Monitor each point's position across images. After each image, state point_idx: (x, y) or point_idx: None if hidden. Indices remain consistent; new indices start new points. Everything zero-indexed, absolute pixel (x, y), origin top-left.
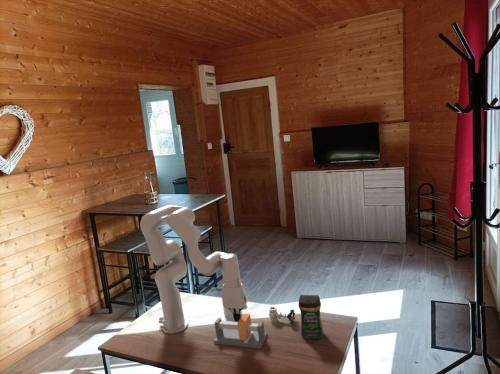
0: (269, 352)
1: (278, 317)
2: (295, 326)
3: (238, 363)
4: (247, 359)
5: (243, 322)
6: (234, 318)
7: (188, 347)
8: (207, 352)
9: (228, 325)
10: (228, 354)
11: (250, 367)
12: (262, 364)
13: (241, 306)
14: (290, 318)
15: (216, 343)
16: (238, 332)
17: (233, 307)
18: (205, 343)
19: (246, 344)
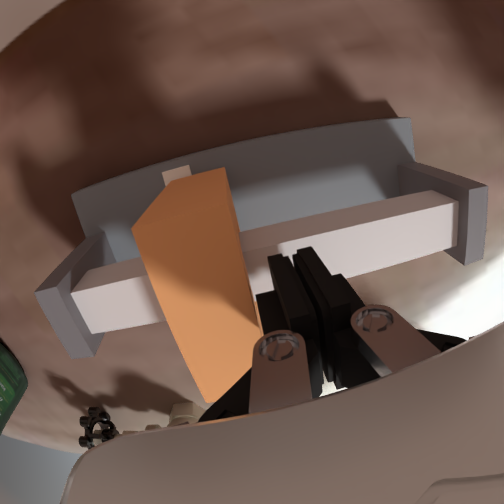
0: (23, 182)
1: (151, 428)
2: (77, 398)
3: (124, 7)
4: (92, 60)
5: (148, 245)
6: (318, 266)
7: (484, 63)
8: (381, 29)
9: (371, 216)
10: (240, 42)
11: (47, 25)
12: (7, 81)
13: (91, 485)
14: (84, 426)
15: (386, 118)
16: None
17: (372, 403)
18: (440, 108)
19: (163, 162)
